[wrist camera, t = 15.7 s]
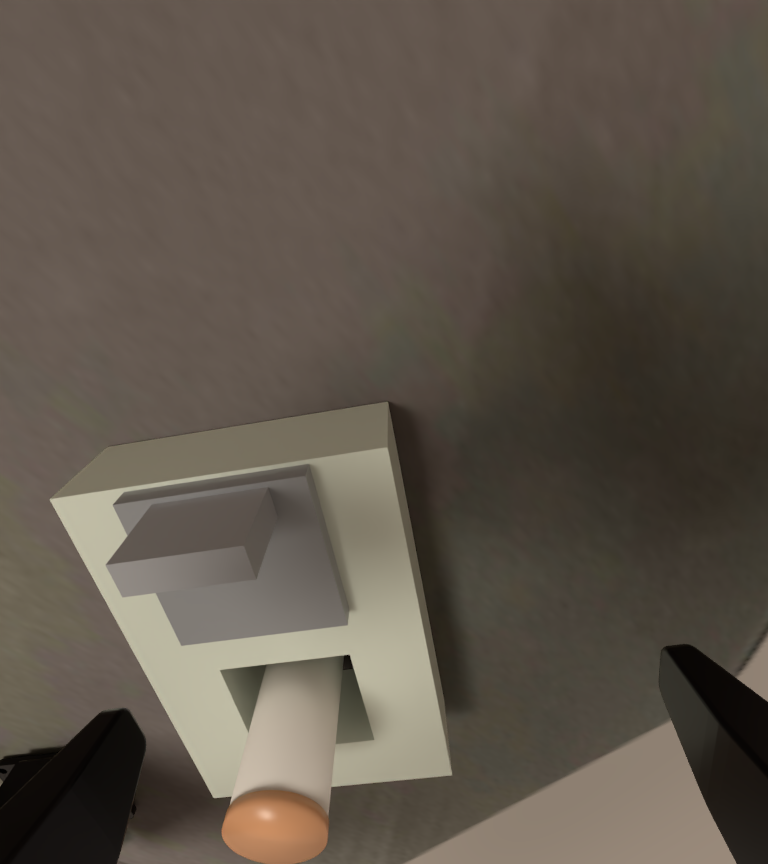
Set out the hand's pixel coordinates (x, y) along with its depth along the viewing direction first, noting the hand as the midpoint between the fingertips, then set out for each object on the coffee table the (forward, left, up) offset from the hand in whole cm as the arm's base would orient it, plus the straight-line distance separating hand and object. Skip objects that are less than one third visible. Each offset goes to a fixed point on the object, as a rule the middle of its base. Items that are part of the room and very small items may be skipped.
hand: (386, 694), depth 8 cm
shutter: (-4, +6, -9) cm, 11 cm away
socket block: (-9, +6, -13) cm, 17 cm away
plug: (-12, +6, -13) cm, 19 cm away
